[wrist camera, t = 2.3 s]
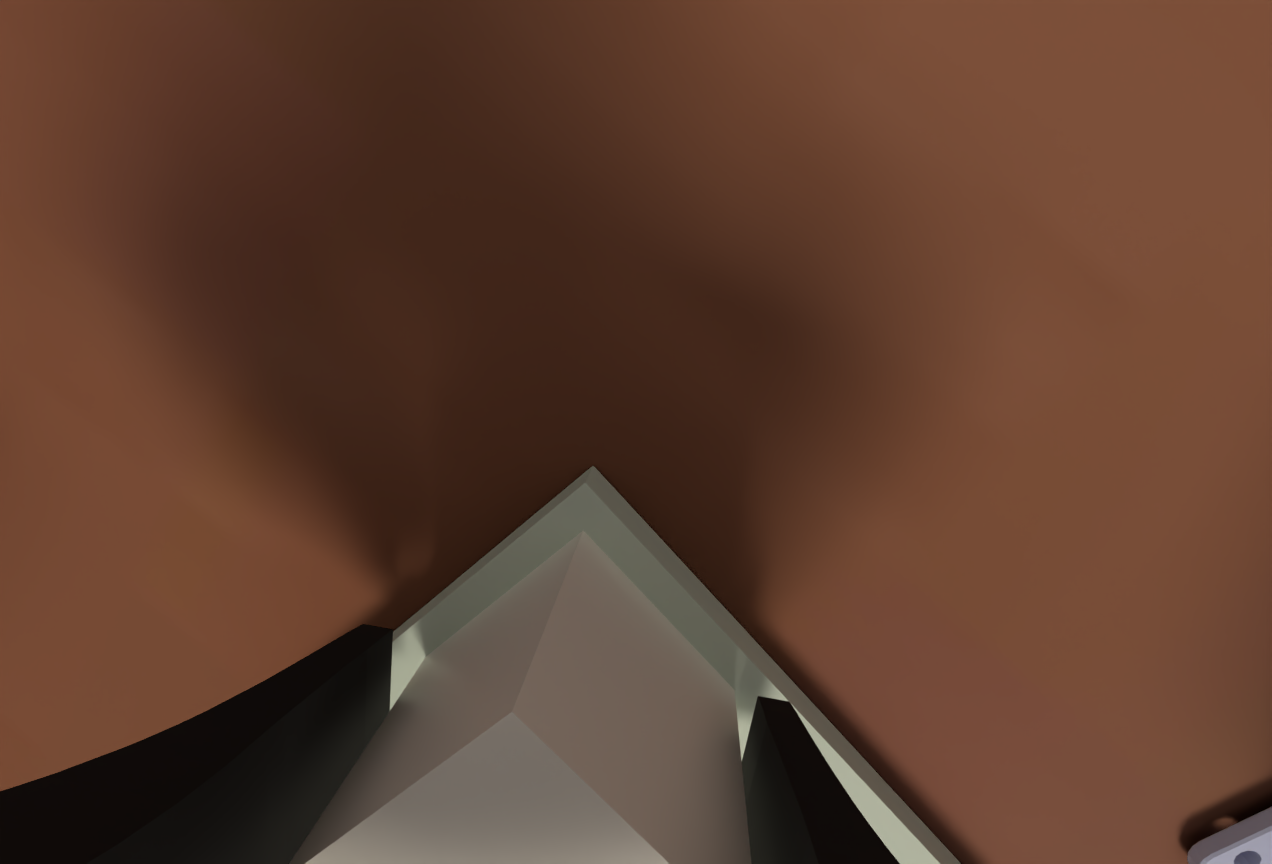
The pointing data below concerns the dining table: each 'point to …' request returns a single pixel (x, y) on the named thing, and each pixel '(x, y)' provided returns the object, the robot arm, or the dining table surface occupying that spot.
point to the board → (690, 613)
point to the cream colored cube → (550, 740)
